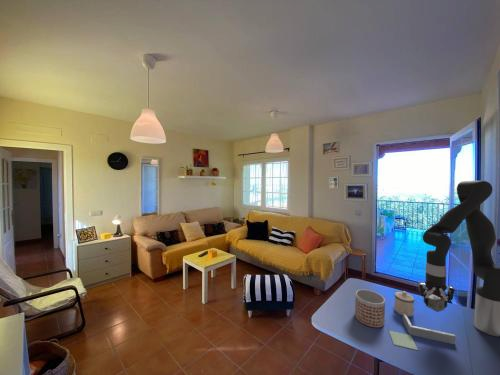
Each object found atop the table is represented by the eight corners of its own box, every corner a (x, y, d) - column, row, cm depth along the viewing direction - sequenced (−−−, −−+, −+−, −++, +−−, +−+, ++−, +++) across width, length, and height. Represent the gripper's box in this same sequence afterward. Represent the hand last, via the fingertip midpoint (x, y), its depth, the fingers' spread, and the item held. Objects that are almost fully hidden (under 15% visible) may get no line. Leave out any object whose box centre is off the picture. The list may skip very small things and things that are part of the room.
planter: (389, 330, 104) (390, 305, 103) (359, 326, 107) (360, 302, 106) (378, 312, 117) (378, 290, 117) (351, 309, 120) (352, 287, 119)
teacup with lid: (417, 317, 113) (418, 297, 112) (399, 316, 114) (400, 295, 113) (404, 304, 125) (405, 285, 124) (387, 303, 126) (388, 284, 125)
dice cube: (444, 309, 101) (444, 299, 100) (437, 312, 99) (437, 301, 99) (432, 303, 105) (432, 294, 105) (425, 305, 104) (425, 296, 104)
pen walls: (443, 328, 105) (443, 321, 105) (455, 344, 95) (455, 336, 95) (402, 320, 111) (402, 313, 111) (409, 334, 101) (410, 326, 101)
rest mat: (410, 335, 100) (410, 335, 100) (418, 350, 92) (418, 350, 92) (388, 330, 103) (388, 330, 103) (394, 344, 95) (394, 344, 95)
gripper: (449, 271, 103) (449, 304, 104) (414, 267, 108) (414, 299, 109) (459, 278, 96) (458, 313, 97) (421, 274, 101) (420, 307, 102)
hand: (435, 305), depth 103 cm, fingers closed on dice cube, 6 cm apart
